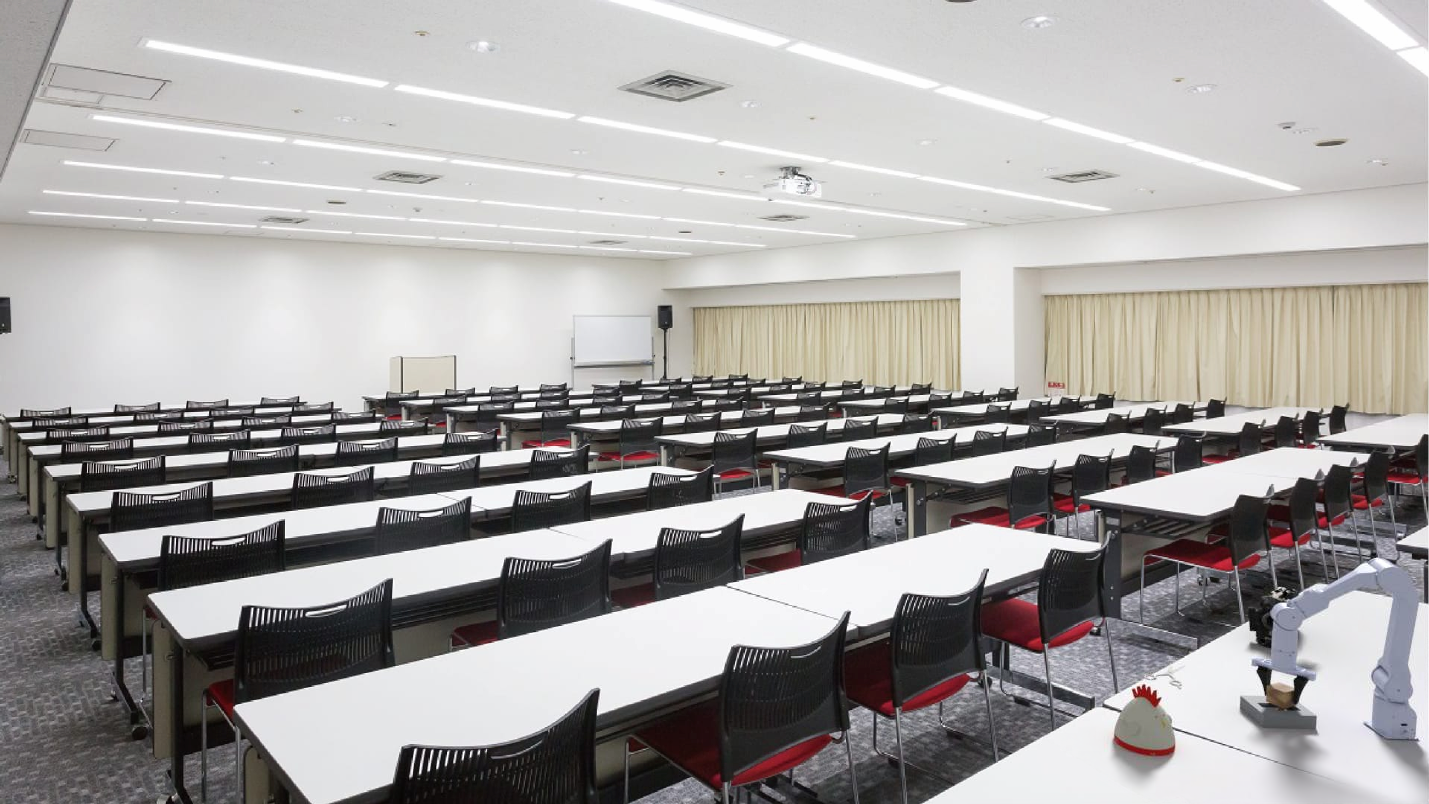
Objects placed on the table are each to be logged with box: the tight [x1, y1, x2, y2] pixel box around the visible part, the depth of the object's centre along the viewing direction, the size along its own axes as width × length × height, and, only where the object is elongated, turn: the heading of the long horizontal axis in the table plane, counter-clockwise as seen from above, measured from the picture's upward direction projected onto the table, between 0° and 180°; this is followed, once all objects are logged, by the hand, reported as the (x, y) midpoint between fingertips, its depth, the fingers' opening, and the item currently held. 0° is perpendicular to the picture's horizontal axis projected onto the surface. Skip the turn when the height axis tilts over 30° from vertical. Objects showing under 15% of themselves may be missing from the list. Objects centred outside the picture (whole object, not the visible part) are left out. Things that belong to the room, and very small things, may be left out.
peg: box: [1266, 681, 1297, 710], centre depth 240 cm, size 5×5×8 cm
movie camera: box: [1247, 586, 1300, 648], centre depth 298 cm, size 31×18×18 cm, turn 135°
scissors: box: [1143, 663, 1185, 690], centre depth 271 cm, size 11×1×20 cm
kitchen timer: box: [1113, 683, 1176, 757], centre depth 227 cm, size 14×14×15 cm
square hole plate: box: [1239, 695, 1318, 730], centre depth 241 cm, size 12×13×3 cm
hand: (1281, 698), depth 240 cm, fingers closed on peg, 6 cm apart
